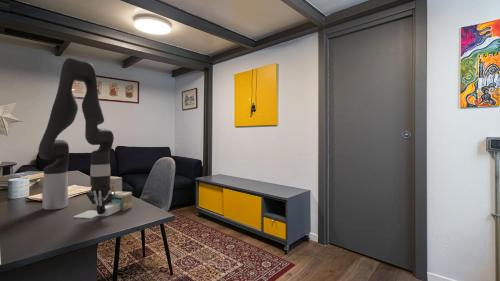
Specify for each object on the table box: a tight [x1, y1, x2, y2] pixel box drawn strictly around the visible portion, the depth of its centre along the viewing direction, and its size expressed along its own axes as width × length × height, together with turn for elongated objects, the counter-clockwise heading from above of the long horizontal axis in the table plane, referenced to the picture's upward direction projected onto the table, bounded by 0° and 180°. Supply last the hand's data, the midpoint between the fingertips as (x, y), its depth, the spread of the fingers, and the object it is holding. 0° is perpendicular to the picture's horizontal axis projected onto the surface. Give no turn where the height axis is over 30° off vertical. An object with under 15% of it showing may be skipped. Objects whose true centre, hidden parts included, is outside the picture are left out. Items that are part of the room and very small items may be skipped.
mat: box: [72, 209, 100, 220], centre depth 110 cm, size 9×9×1 cm
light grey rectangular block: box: [98, 203, 121, 217], centre depth 112 cm, size 4×9×4 cm, turn 172°
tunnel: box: [107, 191, 133, 212], centre depth 119 cm, size 8×6×8 cm
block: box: [112, 197, 122, 211], centre depth 119 cm, size 5×5×5 cm
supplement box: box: [107, 175, 123, 197], centre depth 131 cm, size 8×5×13 cm, turn 68°
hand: (101, 213), depth 107 cm, fingers closed
